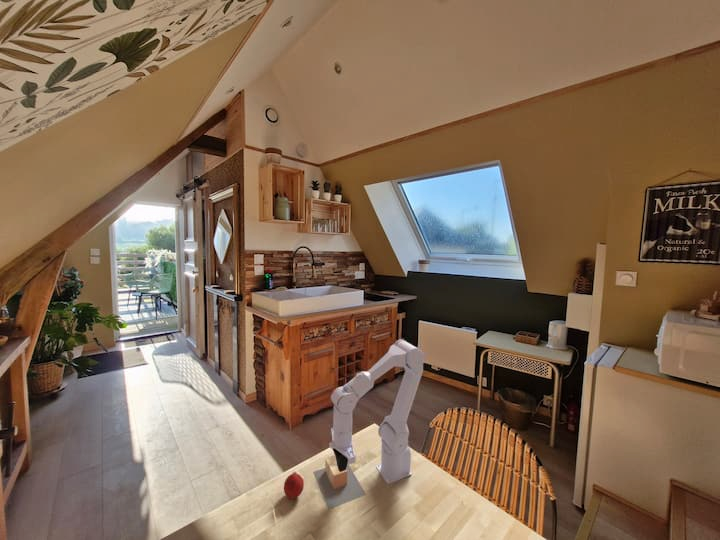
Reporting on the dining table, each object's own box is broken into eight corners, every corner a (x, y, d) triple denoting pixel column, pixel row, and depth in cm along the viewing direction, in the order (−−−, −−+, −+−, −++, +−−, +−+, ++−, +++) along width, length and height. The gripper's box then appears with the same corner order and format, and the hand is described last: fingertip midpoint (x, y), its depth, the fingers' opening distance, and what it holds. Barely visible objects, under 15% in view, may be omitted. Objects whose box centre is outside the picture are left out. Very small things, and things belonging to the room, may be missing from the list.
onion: (298, 507, 83) (298, 482, 83) (280, 503, 85) (280, 478, 84) (306, 491, 89) (306, 466, 88) (289, 487, 90) (289, 463, 90)
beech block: (347, 484, 92) (337, 466, 99) (347, 471, 91) (338, 454, 98) (333, 489, 90) (325, 470, 97) (334, 475, 89) (325, 458, 96)
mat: (346, 461, 101) (346, 460, 101) (366, 495, 88) (366, 494, 88) (313, 472, 96) (313, 471, 96) (328, 510, 83) (328, 509, 83)
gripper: (322, 417, 93) (321, 457, 94) (339, 446, 80) (338, 492, 81) (342, 412, 96) (342, 451, 97) (362, 439, 83) (361, 483, 84)
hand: (342, 469), depth 89 cm, fingers closed
